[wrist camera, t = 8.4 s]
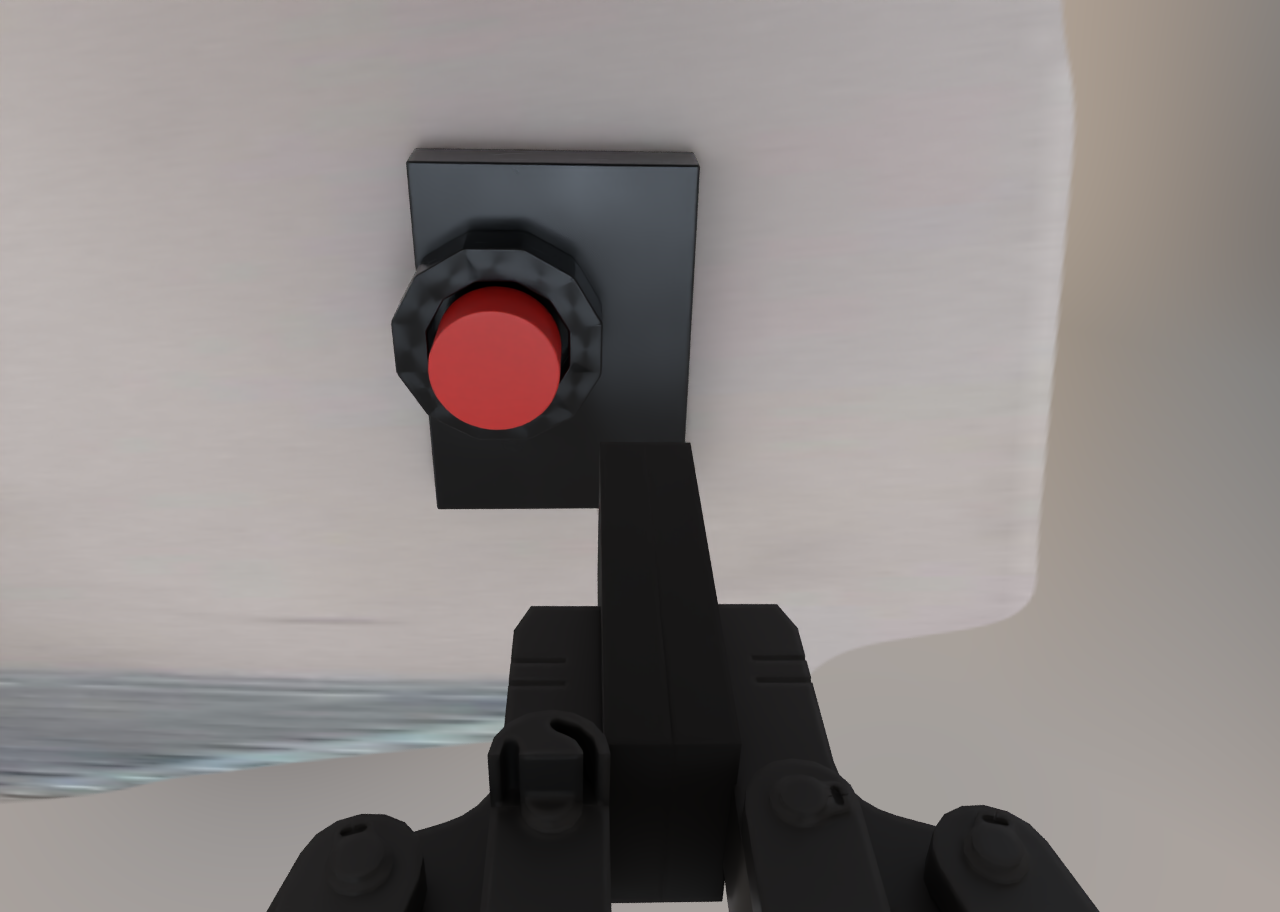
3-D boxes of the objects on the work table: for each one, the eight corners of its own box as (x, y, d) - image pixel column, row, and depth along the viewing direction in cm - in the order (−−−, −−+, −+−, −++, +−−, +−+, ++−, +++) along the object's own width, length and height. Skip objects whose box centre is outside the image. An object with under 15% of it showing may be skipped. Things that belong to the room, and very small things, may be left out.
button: (432, 285, 34) (422, 310, 32) (560, 286, 34) (559, 311, 32) (441, 400, 36) (432, 430, 34) (562, 400, 36) (561, 430, 34)
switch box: (395, 147, 35) (374, 175, 32) (694, 151, 36) (706, 180, 32) (427, 484, 42) (413, 538, 39) (677, 483, 43) (686, 536, 39)
